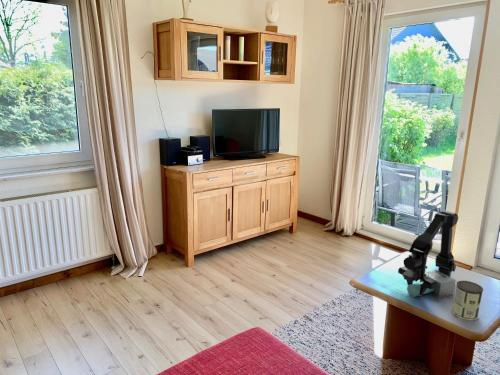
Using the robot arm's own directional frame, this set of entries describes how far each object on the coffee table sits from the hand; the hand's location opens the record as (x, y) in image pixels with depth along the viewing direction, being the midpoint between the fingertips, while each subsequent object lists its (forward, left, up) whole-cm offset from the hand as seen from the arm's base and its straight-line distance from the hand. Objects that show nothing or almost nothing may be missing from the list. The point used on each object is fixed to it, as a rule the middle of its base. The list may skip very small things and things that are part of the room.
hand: (415, 292), depth 181 cm
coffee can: (-9, +20, -2) cm, 22 cm away
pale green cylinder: (-4, 0, -1) cm, 4 cm away
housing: (-14, 0, -2) cm, 14 cm away
